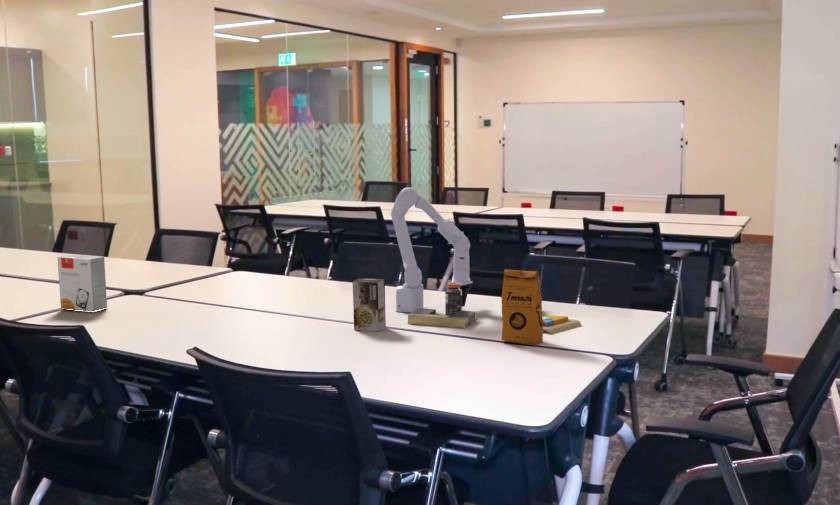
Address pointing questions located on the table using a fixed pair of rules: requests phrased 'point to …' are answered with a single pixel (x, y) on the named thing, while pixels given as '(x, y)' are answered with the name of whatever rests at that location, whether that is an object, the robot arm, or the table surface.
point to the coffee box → (369, 304)
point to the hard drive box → (82, 282)
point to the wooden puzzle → (558, 323)
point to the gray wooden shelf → (441, 318)
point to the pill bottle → (453, 299)
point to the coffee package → (522, 308)
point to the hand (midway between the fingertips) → (461, 306)
